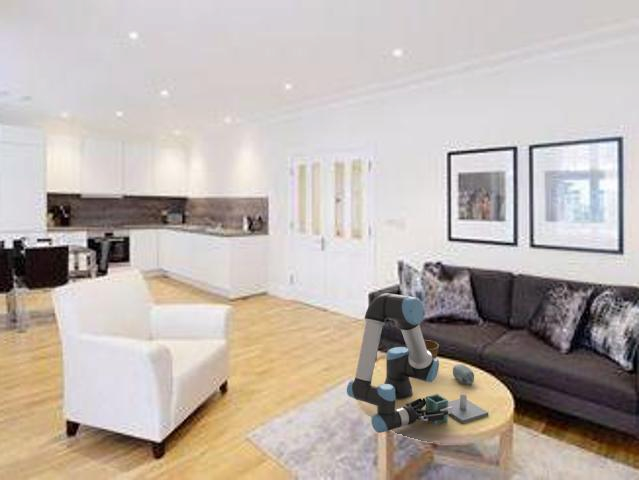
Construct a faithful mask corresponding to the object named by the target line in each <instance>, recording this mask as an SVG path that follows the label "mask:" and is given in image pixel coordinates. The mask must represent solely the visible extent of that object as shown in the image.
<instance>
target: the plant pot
mask: <svg viewBox="0 0 639 480" xmlns="http://www.w3.org/2000/svg"><path fill="white" fill-rule="evenodd" d="M424 342H425V345H426V349H427V351H429V352H430V353H431V355H432V358H434V359H435V358H436V359H437V356H438V351H439V346H440V344H438V342H436V341H433V340H431V339H430V340H427V339H424Z"/></svg>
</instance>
